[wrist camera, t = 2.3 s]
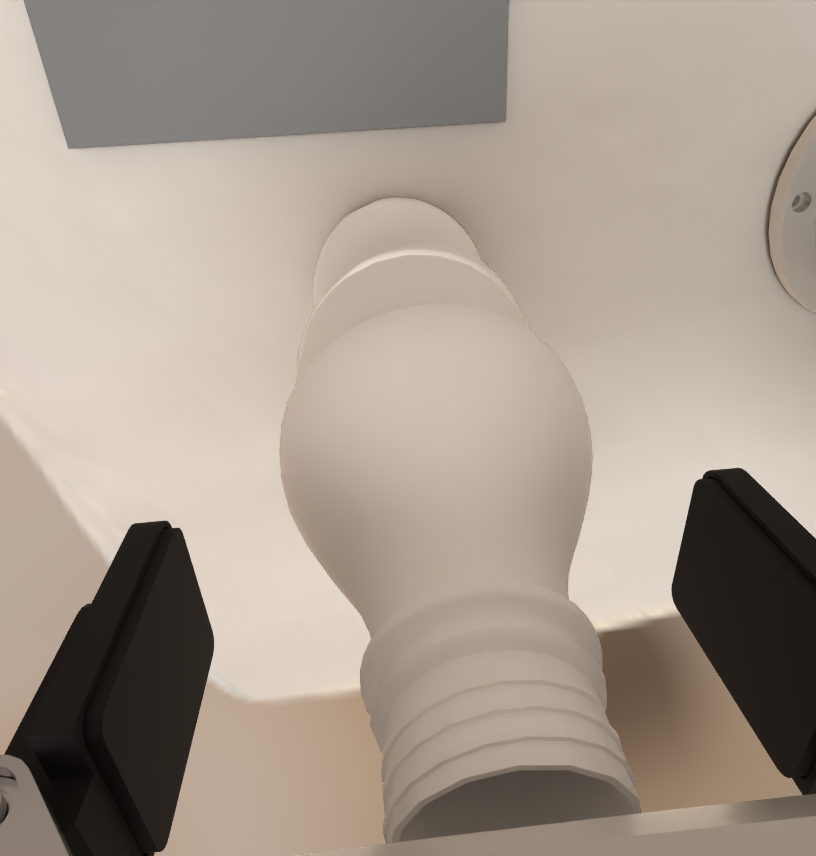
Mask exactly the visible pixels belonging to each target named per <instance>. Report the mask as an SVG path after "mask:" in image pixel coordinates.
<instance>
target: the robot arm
mask: <svg viewBox="0 0 816 856" xmlns="http://www.w3.org/2000/svg"><path fill="white" fill-rule="evenodd" d="M769 243H770V254H771V259H772V262H773V265H774V268H775V271H776V274H777V277H778V278H779V280H780V281H781V283H782V285H783V286H784V288H785V289H786V291H787V292H788V294H789V295H791V296H792V297H793V298H794V299H795V300H796V301H797V302H798V303H799V304H800V305H802V306H803V307H805V308H807V309H809V310H810V311H812V312H814V313H816V115H815V117H814V118H813V119H812V120H811V121H810V123H809V124H808V126H807V127H806V129H805V130H804V132H803V134H802V135H801V137H800V138H799V140H798V142H797V143H796V145H795V146H794V148H793V150H792V151H791V153H790V156H789V158H788V160H787V162H786V165H785V167H784V169H783V171H782V173H781V176H780V178H779V181H778V184H777V188H776V191H775V195H774V199H773V202H772V206H771V213H770V223H769ZM672 597H673V601H674V604H675V606H676V608H677V609H678V611H679V612H680V614H681V616H682V617H683V619H684V620H685V622H686V624H687V625H688V627H689V628H690V630H691V632H692V633H693V635H694V636H695V638H696V640H697V641H698V642H699V644H700V646H701V648H702V649H703V651H704V652H705V654H706V656H707V657H708V659H709V660H710V662H711V663H712V665H713V667H714V668H715V670H716V672H717V673H718V675H719V676H720V678H721V679H722V681H723V683H724V684H725V686H726V687H727V689H728V691H729V692H730V694H731V695H732V697H733V699H734V700H735V702H736V703H737V705H738V707H739V708H740V710H741V711H742V713H743V715H744V716H745V718H746V719H747V721H748V722H749V724H750V726H751V727H752V729H753V730H754V732H755V734H756V735H757V737H758V739H759V740H760V742H761V743H762V745H763V746H764V748H765V750H766V751H767V753H768V754H769V756H770V758H771V759H772V761H773V762H774V764H775V766H776V767H777V769H778V770H779V771H780V772H781V773H782V774H783V775H784V776H785V777H788V778H792V779H793V780H794V782H795V783H796V785H797V787H798V788H799V790H800V791H801V793H802V794H803V795H801V796H790V797H781V798H772V799H764V800H754V801H745V802H737V803H728V804H719V805H710V806H701V807H692V808H683V809H674V810H666V811H658V812H648V813H639V814H630V815H622V816H613V817H605V818H596V819H588V820H579V821H571V822H562V823H554V824H545V825H537V826H528V827H520V828H511V829H503V830H495V831H486V832H478V833H470V834H461V835H453V836H444V837H436V838H428V839H420V840H412V841H404V842H396V843H388V844H380V845H372V846H364V847H355V848H347V849H340V850H332V851H323V852H315V853H307V854H299V855H291V856H816V539H815V538H814V537H813V536H812V535H811V534H810V533H809V532H808V531H807V530H806V529H805V528H804V527H803V526H802V525H801V524H800V523H799V522H798V521H797V520H796V519H795V518H794V517H793V516H792V515H791V514H790V513H789V512H788V511H786V510H785V509H784V508H783V507H782V506H781V505H780V504H779V503H778V502H777V501H776V500H775V499H774V498H773V497H772V496H771V495H770V494H769V493H768V492H767V491H766V490H765V489H764V488H763V487H762V486H761V485H760V484H759V483H758V482H757V481H756V480H755V479H753V478H752V477H751V476H750V475H749V474H748V473H747V472H746V471H745V470H743V469H741V468H732V469H721V470H710V471H707V472H706V473H705V474H704V475H703V478H702V479H700V480H697V481H696V483H695V485H694V488H693V493H692V497H691V502H690V506H689V511H688V515H687V520H686V524H685V529H684V533H683V538H682V542H681V547H680V551H679V556H678V560H677V565H676V569H675V574H674V578H673V583H672ZM213 651H214V636H213V631H212V628H211V625H210V622H209V618H208V615H207V612H206V608H205V605H204V602H203V598H202V595H201V592H200V589H199V585H198V582H197V579H196V575H195V572H194V569H193V565H192V562H191V559H190V555H189V552H188V549H187V546H186V542H185V539H184V536H183V533H182V531H181V529H180V528H172V527H171V525H170V523H169V522H168V521H157V522H146V523H135V524H133V525H131V527H130V528H129V530H128V532H127V534H126V536H125V538H124V540H123V542H122V544H121V546H120V548H119V550H118V552H117V554H116V556H115V558H114V560H113V562H112V564H111V566H110V568H109V570H108V572H107V574H106V576H105V578H104V580H103V582H102V584H101V586H100V588H99V590H98V592H97V594H96V596H95V598H94V600H93V602H92V604H87V605H85V606H84V607H82V608H81V610H80V611H79V613H78V614H77V615H76V618H75V619H74V622H73V623H72V625H71V627H70V629H69V631H68V633H67V635H66V637H65V639H64V640H63V642H62V644H61V646H60V648H59V650H58V652H57V654H56V656H55V658H54V660H53V662H52V664H51V666H50V667H49V669H48V671H47V673H46V675H45V677H44V679H43V681H42V683H41V685H40V687H39V689H38V691H37V693H36V694H35V696H34V698H33V700H32V702H31V704H30V706H29V708H28V710H27V712H26V714H25V716H24V718H23V719H22V721H21V723H20V725H19V727H18V729H17V731H16V733H15V735H14V737H13V739H12V741H11V743H10V745H9V746H8V748H7V750H6V752H5V754H4V755H0V856H154V852H161V851H163V850H164V848H165V846H166V844H167V841H168V838H169V834H170V830H171V826H172V821H173V817H174V813H175V809H176V805H177V801H178V797H179V792H180V789H181V784H182V780H183V776H184V772H185V767H186V764H187V759H188V756H189V751H190V747H191V743H192V739H193V735H194V731H195V727H196V723H197V718H198V714H199V710H200V706H201V702H202V698H203V694H204V690H205V685H206V681H207V677H208V673H209V669H210V665H211V661H212V657H213Z"/></svg>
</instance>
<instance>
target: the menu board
mask: <svg viewBox="0 0 816 856" xmlns="http://www.w3.org/2000/svg"><path fill="white" fill-rule="evenodd" d="M24 3H25V6H26V10H27V13H28V16H29V20H30V23H31V26H32V30H33V33H34V36H35V39H36V43H37V46H38V49H39V53H40V56H41V59H42V63H43V66H44V69H45V73H46V76H47V79H48V83H49V86H50V89H51V93H52V96H53V99H54V103H55V106H56V109H57V112H58V116H59V119H60V122H61V126H62V129H63V132H64V136H65V139H66V142H67V146H68V149H74V148H90V147H106V146H122V145H138V144H153V143H169V142H185V141H201V140H217V139H233V138H248V137H264V136H280V135H296V134H312V133H328V132H344V131H359V130H375V129H391V128H407V127H423V126H439V125H455V124H470V123H486V122H502V121H506V87H507V47H508V7H509V0H24Z"/></svg>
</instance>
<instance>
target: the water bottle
mask: <svg viewBox="0 0 816 856" xmlns="http://www.w3.org/2000/svg"><path fill="white" fill-rule="evenodd" d="M313 299H314V306H315V310H314V311H313V313H312V315H311V317H310V319H309V321H308V323H307V326H306V328H305V331H304V334H303V337H302V340H301V344H300V348H299V354H298V374H297V379H296V384H295V388H294V390H293V392H292V394H291V396H290V397H289V399H288V402H287V406H286V409H285V413H284V417H283V421H282V424H281V437H280V468H281V478H282V483H283V487H284V492H285V495H286V499H287V502H288V506H289V509H290V513H291V515H292V517H293V519H294V521H295V523H296V525H297V527H298V529H299V531H300V533H301V535H302V537H303V539H304V541H305V542H306V544H307V546H308V548H309V549H310V550H311V552H312V553H313V555H314V556H315V557H316V559H317V560H318V561H319V563H320V564H321V566H322V567H323V568H324V570H325V571H326V573H327V574H328V575H329V577H330V578H331V579H332V581H333V582H334V583H335V585H336V586H337V587H338V588H339V589H340V590H341V592H342V593H343V594H344V595H345V596H346V598H347V599H348V600H349V601H350V602H351V603H352V605H353V606H354V607H355V608H356V609H357V611H358V612H359V613H360V615H361V616H362V618H363V620H364V622H365V624H366V626H367V628H368V631H369V633H370V636H371V640H370V642H369V644H368V647H367V649H366V651H365V653H364V655H363V659H362V664H361V669H360V685H361V695H362V698H363V701H364V704H365V707H366V710H367V712H368V713H369V715H370V716H371V722H370V726H371V728H372V731H373V733H374V736H375V739H376V741H377V744H378V746H379V748H380V750H381V752H382V753H383V761H382V772H381V773H382V782H383V800H384V811H385V818H384V822H383V834H384V838H385V841H386V844H388V843H396V842H404V841H412V840H420V839H428V838H436V837H444V836H453V835H461V834H470V833H478V832H486V831H495V830H503V829H511V828H520V827H528V826H537V825H545V824H554V823H562V822H571V821H579V820H588V819H596V818H605V817H613V816H622V815H630V814H639V813H641V809H640V803H639V798H638V796H637V794H636V791H635V789H634V788H635V782H636V781H635V779H634V776H633V774H632V772H631V769H630V767H629V765H628V763H627V761H626V758H625V756H624V754H623V753H622V748H621V743H620V739H619V736H618V734H617V732H616V731H615V730H614V729H613V728H612V727H611V726H610V724H609V722H608V719H607V717H606V714H605V710H606V707H607V695H606V682H605V677H604V675H603V673H602V649H601V646H600V642H599V638H598V635H597V633H596V631H595V629H594V627H593V625H592V624H591V622H590V620H589V619H588V617H587V615H586V614H585V613H584V612H583V611H582V610H581V609H580V608H579V607H578V606H577V605H576V604H574V603H573V602H571V601H570V600H569V597H568V574H569V570H570V565H571V562H572V558H573V555H574V552H575V548H576V545H577V542H578V538H579V535H580V531H581V527H582V523H583V519H584V515H585V510H586V506H587V501H588V496H589V490H590V483H591V475H592V444H591V432H590V428H589V423H588V418H587V415H586V412H585V408H584V405H583V402H582V398H581V395H580V393H579V391H578V389H577V387H576V385H575V383H574V381H573V379H572V377H571V375H570V373H569V371H568V370H567V368H566V367H565V365H564V364H563V363H562V361H561V360H560V358H559V357H558V356H557V354H556V353H555V351H554V350H553V349H552V348H551V347H549V346H548V345H547V344H546V343H545V342H544V341H543V340H542V339H541V338H540V337H539V336H537V335H536V334H535V333H534V332H533V331H532V329H531V328H530V326H529V325H528V324H527V322H526V321H525V318H524V315H523V313H522V310H521V309H520V307H519V305H518V303H517V301H516V299H515V298H514V297H513V295H512V294H511V292H510V291H509V290H508V288H507V287H506V286H505V284H504V283H503V282H502V280H501V279H500V278H499V277H498V276H497V275H496V273H495V272H494V271H492V270H491V269H490V268H489V267H488V266H487V265H486V264H485V263H483V262H482V261H481V258H480V256H479V253H478V251H477V249H476V247H475V246H474V244H473V242H472V241H471V239H470V238H469V236H468V235H467V234H466V232H465V231H464V230H463V228H462V227H461V226H460V225H459V224H458V223H457V222H456V221H455V220H454V219H453V218H452V217H451V216H449V215H448V214H446V213H445V212H444V211H442V210H441V209H439V208H437V207H435V206H433V205H431V204H429V203H426V202H423V201H419V200H416V199H411V198H400V197H395V198H384V199H380V200H377V201H375V202H373V203H370V204H368V205H366V206H364V207H362V208H359V209H357V210H355V211H353V212H351V213H350V214H348V215H347V216H346V217H344V218H343V219H342V220H341V221H340V222H339V224H338V225H337V226H336V227H335V228H334V229H333V230H332V232H331V234H330V235H329V237H328V239H327V240H326V242H325V244H324V246H323V248H322V250H321V253H320V256H319V259H318V261H317V266H316V270H315V275H314V283H313Z"/></svg>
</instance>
